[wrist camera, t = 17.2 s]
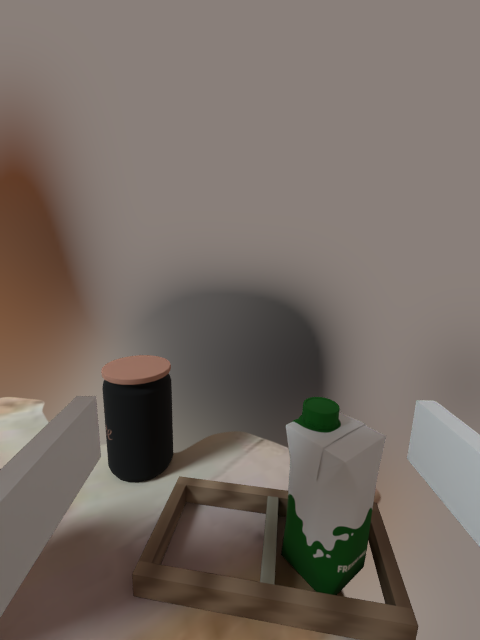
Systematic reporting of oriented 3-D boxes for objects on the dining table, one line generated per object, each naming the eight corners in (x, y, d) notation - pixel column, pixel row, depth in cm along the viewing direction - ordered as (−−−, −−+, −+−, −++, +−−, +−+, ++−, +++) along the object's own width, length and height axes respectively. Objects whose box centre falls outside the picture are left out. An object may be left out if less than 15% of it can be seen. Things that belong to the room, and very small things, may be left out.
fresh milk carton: (315, 518, 45) (328, 387, 41) (375, 569, 38) (398, 418, 34) (270, 553, 40) (278, 407, 35) (330, 619, 33) (350, 448, 28)
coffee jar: (127, 442, 61) (121, 353, 57) (181, 447, 60) (179, 357, 56) (95, 481, 51) (86, 376, 47) (159, 489, 50) (155, 382, 46)
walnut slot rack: (133, 596, 35) (132, 574, 34) (179, 493, 49) (179, 476, 48) (413, 649, 31) (418, 626, 30) (373, 520, 45) (376, 502, 44)
